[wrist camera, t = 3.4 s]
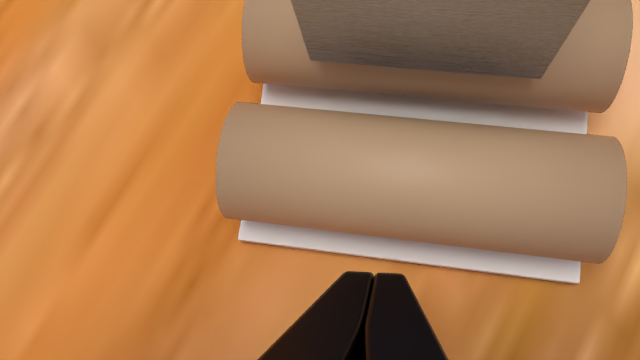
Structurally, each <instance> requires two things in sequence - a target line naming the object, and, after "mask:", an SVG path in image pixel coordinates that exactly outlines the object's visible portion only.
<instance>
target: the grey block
mask: <svg viewBox="0 0 640 360" xmlns="http://www.w3.org/2000/svg"><path fill="white" fill-rule="evenodd" d="M589 2H590V0H291V3H292V6H293V9H294V12H295V15H296V18H297V21H298V24H299V27H300V30H301V34H302V37H303V40H304V43H305V46H306V49H307V52H308V55H309V58H310V61H323V62H335V63H347V64H359V65H372V66H384V67H396V68H408V69H421V70H433V71H445V72H457V73H470V74H482V75H494V76H506V77H519V78H531V79H541V78H542V76H543V75H544V73H545V72H546V70H547V68H548V67H549V65H550V64H551V62H552V60H553V59H554V57H555V56H556V54H557V53H558V51H559V49H560V48H561V46H562V45H563V43H564V41H565V40H566V38H567V37H568V35H569V34H570V32H571V30H572V29H573V27H574V26H575V24H576V22H577V21H578V19H579V18H580V16H581V15H582V13H583V11H584V10H585V8H586V7H587V5H588V4H589Z"/></svg>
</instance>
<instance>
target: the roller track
mask: <svg viewBox="0 0 640 360" xmlns="http://www.w3.org/2000/svg"><path fill="white" fill-rule="evenodd" d="M632 28H633V12H632V3H631V0H590V2H589V4H588V5H587V7H586V8H585V10H584V11H583V13H582V15H581V16H580V18H579V19H578V21H577V22H576V24H575V26H574V27H573V29H572V30H571V32H570V34H569V35H568V37H567V38H566V40H565V41H564V43H563V45H562V46H561V48H560V49H559V51H558V53H557V54H556V56H555V57H554V59H553V60H552V62H551V64H550V65H549V67H548V68H547V70H546V72H545V73H544V75H543V76H542V78H541V79H531V78H519V77H506V76H494V75H482V74H470V73H457V72H445V71H433V70H421V69H408V68H396V67H384V66H372V65H359V64H347V63H335V62H323V61H310V58H309V55H308V52H307V49H306V46H305V43H304V40H303V37H302V34H301V30H300V27H299V24H298V21H297V18H296V15H295V12H294V9H293V6H292V3H291V0H244V7H243V18H242V49H243V58H244V64H245V69H246V72H247V75H248V77H249V79H250V80H251V81H252V82H254V83H264V86H263V92H262V98H261V104H257V103H246V102H237V103H235V104H234V105H233V106H232V107H231V109H230V111H229V112H228V114H227V117H226V119H225V122H224V125H223V128H222V132H221V136H220V141H219V146H218V153H217V162H216V193H217V200H218V205H219V208H220V211H221V213H222V214H223V216H224V217H226V218H230V219H238V220H241V224H240V230H239V236H238V240H240V241H244V242H252V243H260V244H268V245H275V246H283V247H291V248H299V249H306V250H314V251H322V252H330V253H338V254H345V255H353V256H361V257H369V258H377V259H384V260H392V261H400V262H408V263H416V264H423V265H431V266H439V267H447V268H455V269H462V270H470V271H478V272H486V273H493V274H501V275H509V276H517V277H525V278H532V279H540V280H548V281H556V282H564V283H571V284H577V283H580V264H581V262H588V263H596V264H600V263H602V262H604V261H605V260H606V259H607V258H608V257H609V256H610V254H611V252H612V251H613V249H614V247H615V244H616V242H617V239H618V236H619V233H620V230H621V226H622V222H623V217H624V212H625V205H626V196H627V167H626V160H625V155H624V151H623V148H622V145H621V144H620V142H619V140H618V139H617V138H615V137H610V136H600V135H589V134H587V123H588V112H594V113H602V112H604V111H606V110H607V109H608V108H609V107H610V105H611V104H612V102H613V100H614V99H615V97H616V95H617V93H618V90H619V88H620V85H621V83H622V80H623V77H624V73H625V70H626V66H627V62H628V57H629V52H630V46H631V39H632Z"/></svg>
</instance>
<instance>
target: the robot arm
mask: <svg viewBox="0 0 640 360" xmlns="http://www.w3.org/2000/svg"><path fill="white" fill-rule="evenodd" d="M258 360H448V358H447V356H446V354H445V352H444V350H443V348H442V346H441V344H440V342H439V341H438V339H437V337H436V335H435V333H434V331H433V329H432V327H431V325H430V323H429V321H428V319H427V318H426V316H425V314H424V312H423V310H422V308H421V306H420V304H419V302H418V300H417V298H416V296H415V295H414V293H413V291H412V289H411V287H410V285H409V283H408V281H407V279H406V278H405V276H404V275H402V274H397V273H377V274H376V275H375V276H374V275H373V274H372V273H370V272H355V271H347V272H345V273H343V274H342V275H341V276H340V277H339V278H338V279H337V280H336V281H335V282H334V283H333V284H332V285H331V286H330V287H329V288H328V289H327V290H326V291H325V292H324V293H323V294H322V295H321V296H320V297H319V298H318V299H317V300H316V301H315V302H314V303H313V304H312V305H311V306H310V307H309V308H308V309H307V310H306V311H305V312H304V313H303V315H302V316H301V317H300V318H299V319H298V320H297V321H296V322H295V323H294V324H293V325H292V326H291V327H290V328H289V329H288V330H287V331H286V332H285V333H284V334H283V335H282V336H281V337H280V338H279V339H278V340H277V341H276V342H275V343H274V344H273V345H272V346H271V347H270V348H269V349H268V350H267V351H266V352H265V353H264V354H263V355H262V356H261V357H260V358H259V359H258Z"/></svg>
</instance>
